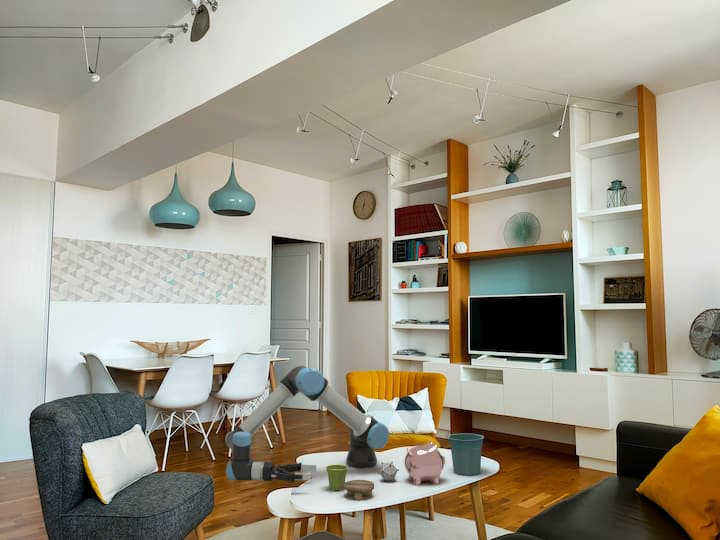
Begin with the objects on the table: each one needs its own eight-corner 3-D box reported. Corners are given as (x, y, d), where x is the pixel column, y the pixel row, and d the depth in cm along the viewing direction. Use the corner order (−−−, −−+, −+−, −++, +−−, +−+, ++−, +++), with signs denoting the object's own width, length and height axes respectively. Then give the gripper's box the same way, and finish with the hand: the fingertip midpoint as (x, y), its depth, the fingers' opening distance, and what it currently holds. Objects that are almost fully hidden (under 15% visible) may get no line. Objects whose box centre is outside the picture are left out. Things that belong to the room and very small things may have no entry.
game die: (391, 490, 238) (397, 475, 233) (373, 482, 239) (378, 467, 235) (397, 475, 245) (403, 460, 240) (380, 467, 247) (384, 452, 242)
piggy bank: (451, 484, 234) (450, 445, 235) (410, 487, 230) (410, 448, 231) (438, 475, 248) (437, 438, 250) (400, 477, 245) (399, 440, 246)
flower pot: (447, 475, 247) (446, 439, 249) (450, 467, 263) (449, 432, 265) (484, 478, 243) (483, 440, 245) (485, 468, 259) (484, 433, 261)
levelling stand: (345, 490, 225) (345, 479, 225) (375, 491, 224) (374, 480, 224) (342, 500, 213) (342, 488, 213) (373, 500, 212) (373, 488, 212)
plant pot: (333, 484, 235) (333, 463, 235) (352, 487, 230) (352, 466, 231) (321, 489, 227) (321, 468, 227) (340, 493, 222) (340, 471, 223)
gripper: (270, 472, 243) (318, 473, 242) (255, 489, 219) (308, 490, 217) (270, 455, 244) (318, 456, 242) (255, 469, 219) (308, 470, 218)
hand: (313, 472), depth 230 cm, fingers open, 13 cm apart
